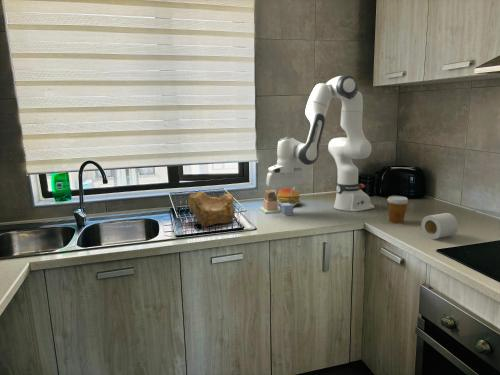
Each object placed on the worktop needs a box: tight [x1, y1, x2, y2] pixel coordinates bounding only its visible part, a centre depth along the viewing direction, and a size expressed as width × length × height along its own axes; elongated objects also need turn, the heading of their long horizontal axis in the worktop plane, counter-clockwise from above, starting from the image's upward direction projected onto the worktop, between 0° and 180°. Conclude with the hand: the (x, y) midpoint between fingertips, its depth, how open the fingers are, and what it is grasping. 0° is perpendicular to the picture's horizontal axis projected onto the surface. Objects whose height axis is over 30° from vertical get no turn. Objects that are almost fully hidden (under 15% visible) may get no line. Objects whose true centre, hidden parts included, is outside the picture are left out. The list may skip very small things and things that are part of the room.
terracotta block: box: [263, 198, 279, 211], centre depth 202 cm, size 6×6×5 cm
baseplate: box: [258, 206, 280, 215], centre depth 203 cm, size 10×10×1 cm
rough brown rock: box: [187, 191, 235, 228], centre depth 180 cm, size 23×17×15 cm
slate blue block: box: [279, 203, 294, 216], centre depth 197 cm, size 5×6×5 cm
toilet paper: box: [420, 212, 459, 240], centre depth 158 cm, size 10×10×10 cm
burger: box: [277, 187, 301, 207], centre depth 213 cm, size 13×14×10 cm
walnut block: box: [263, 189, 278, 202], centre depth 201 cm, size 5×6×5 cm
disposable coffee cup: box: [386, 195, 409, 224], centre depth 179 cm, size 10×10×12 cm
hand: (284, 193), depth 196 cm, fingers open, 8 cm apart
